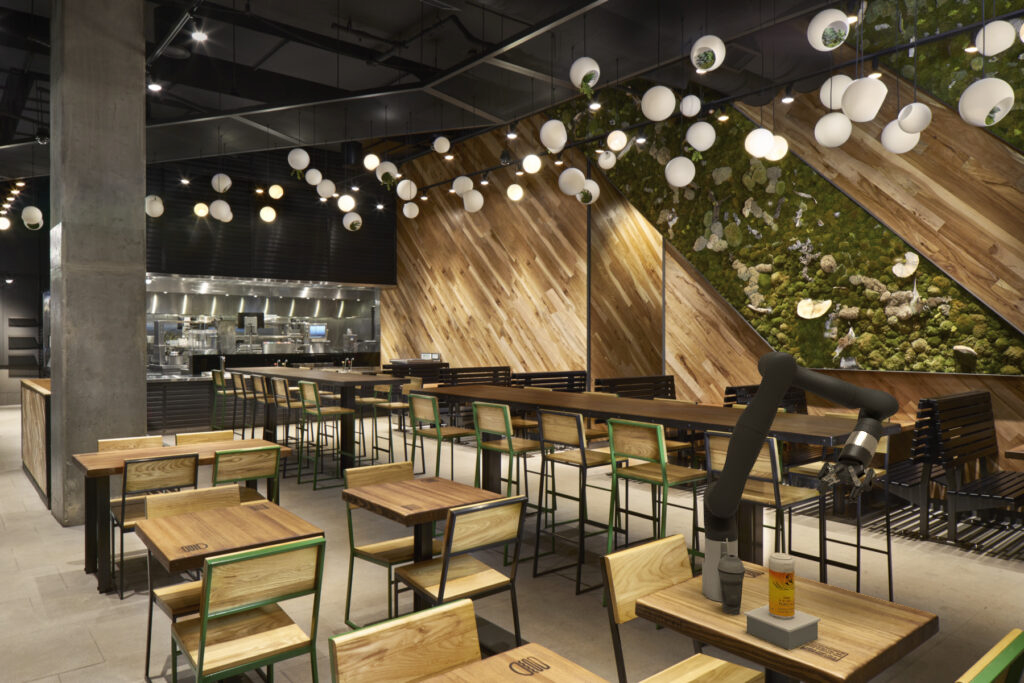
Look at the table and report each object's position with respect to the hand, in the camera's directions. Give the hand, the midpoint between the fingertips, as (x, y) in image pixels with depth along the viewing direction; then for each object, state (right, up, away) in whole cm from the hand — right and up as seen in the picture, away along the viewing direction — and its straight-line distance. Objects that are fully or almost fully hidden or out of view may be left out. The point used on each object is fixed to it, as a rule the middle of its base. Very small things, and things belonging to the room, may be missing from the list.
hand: (836, 497), depth 177 cm
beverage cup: (-27, -33, +4) cm, 43 cm away
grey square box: (-19, -32, -11) cm, 39 cm away
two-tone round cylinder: (-19, -28, -11) cm, 35 cm away
